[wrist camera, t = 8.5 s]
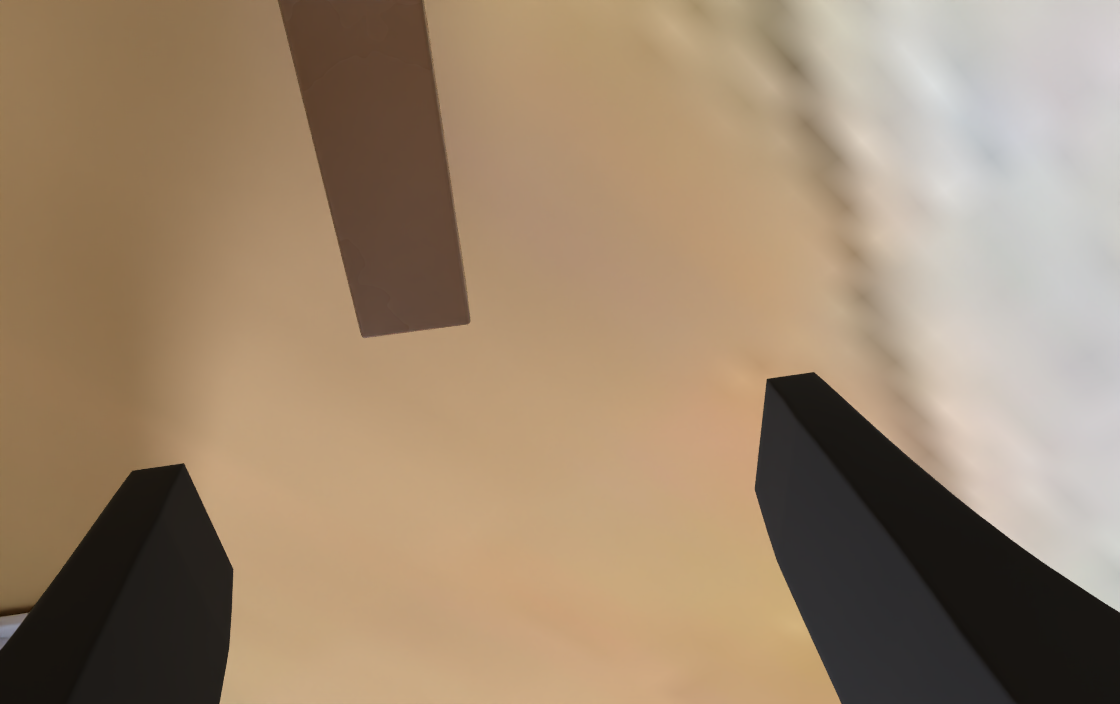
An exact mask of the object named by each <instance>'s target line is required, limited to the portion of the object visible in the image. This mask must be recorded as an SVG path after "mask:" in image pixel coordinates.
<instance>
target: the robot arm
mask: <svg viewBox="0 0 1120 704" xmlns="http://www.w3.org/2000/svg"><path fill="white" fill-rule="evenodd" d="M755 492H756V495H757V499H758V502H759V505H760V509H761V512H762V515H763V519H764V522H765V525H766V529H767V532H768V535H769V538H770V541H771V544H772V547H773V550H774V553H775V556H776V559H777V562H778V564H779V566H780V569H781V571H782V573H783V576H784V578H785V580H786V582H787V585H788V587H789V589H790V591H791V593H792V596H793V598H794V600H795V602H796V605H797V607H798V609H799V611H800V614H801V616H802V618H803V620H804V622H805V625H806V627H807V629H808V631H809V633H810V635H811V638H812V640H813V642H814V644H815V646H816V649H817V651H818V653H819V655H820V657H821V660H822V662H823V664H824V666H825V668H826V671H827V673H828V675H829V677H830V679H831V681H832V684H833V686H834V688H835V690H836V692H837V695H838V697H839V699H840V701H841V703H842V704H1120V612H1118V611H1116V610H1115V609H1113V608H1111V607H1110V606H1108V605H1107V604H1105V603H1103V602H1102V601H1100V600H1099V599H1097V598H1096V597H1094V596H1093V595H1091V594H1090V593H1088V592H1087V591H1085V590H1084V589H1082V588H1081V587H1079V586H1078V585H1076V584H1075V583H1073V582H1071V581H1070V580H1068V579H1067V578H1065V577H1064V576H1062V575H1061V574H1059V573H1058V572H1056V571H1055V570H1053V569H1052V568H1050V567H1049V566H1047V565H1046V564H1044V563H1043V562H1041V561H1040V560H1039V559H1037V558H1036V557H1034V556H1033V555H1032V554H1030V553H1029V552H1027V551H1026V550H1024V549H1023V548H1022V547H1020V546H1019V545H1018V544H1016V543H1015V542H1014V541H1012V540H1011V539H1010V538H1008V537H1007V536H1006V535H1004V534H1003V533H1002V532H1000V531H999V530H998V529H996V528H995V527H994V526H992V525H991V524H990V523H989V522H987V521H986V520H985V519H983V518H982V517H981V516H979V515H978V514H977V513H976V512H974V511H973V510H972V509H971V508H969V507H968V506H967V505H966V504H964V503H963V502H962V501H960V500H959V499H958V498H957V497H955V496H954V495H953V494H952V493H951V492H949V491H948V490H947V489H946V488H945V487H944V486H942V485H941V484H940V483H939V482H938V481H936V480H935V479H934V478H933V477H932V476H930V475H929V474H928V473H927V472H926V471H924V470H923V469H922V468H921V467H920V466H918V465H917V464H916V463H915V462H914V461H913V460H911V459H910V458H909V457H908V456H907V455H906V454H904V453H903V452H902V451H901V450H900V449H899V448H898V447H896V446H895V445H894V444H893V443H892V442H891V441H890V440H889V439H888V438H886V437H885V436H884V435H883V434H882V433H881V432H880V431H879V430H877V429H876V428H875V427H874V426H873V425H872V424H871V423H870V422H869V421H867V420H866V419H865V418H864V417H863V416H862V415H861V414H860V413H859V412H858V411H856V410H855V409H854V408H853V407H852V406H851V405H850V404H849V403H848V402H847V401H846V400H844V399H843V398H842V397H841V396H840V395H839V394H838V393H837V392H836V391H835V390H834V389H832V388H831V387H830V386H829V385H828V384H827V383H826V382H825V381H824V380H822V379H821V378H820V377H819V376H818V375H817V374H815V373H814V372H812V373H805V374H798V375H791V376H784V377H777V378H770V379H767V383H766V392H765V401H764V410H763V419H762V428H761V437H760V446H759V455H758V464H757V473H756V482H755ZM232 589H233V568H232V565H231V563H230V561H229V559H228V557H227V555H226V553H225V550H224V548H223V546H222V544H221V542H220V540H219V537H218V535H217V533H216V531H215V529H214V527H213V525H212V522H211V520H210V518H209V516H208V514H207V512H206V510H205V507H204V505H203V503H202V501H201V499H200V497H199V494H198V492H197V490H196V488H195V486H194V484H193V482H192V479H191V477H190V475H189V473H188V471H187V469H186V467H185V464H184V463H183V464H176V465H169V466H162V467H155V468H148V469H141V470H135V471H132V472H131V473H130V475H129V476H128V477H127V478H126V480H125V481H124V482H123V484H122V485H121V487H120V488H119V489H118V491H117V492H116V493H115V495H114V496H113V498H112V499H111V500H110V502H109V503H108V505H107V506H106V507H105V509H104V510H103V512H102V513H101V514H100V516H99V517H98V519H97V520H96V521H95V523H94V524H93V526H92V527H91V529H90V530H89V531H88V533H87V534H86V536H85V537H84V538H83V540H82V541H81V543H80V544H79V545H78V547H77V548H76V550H75V551H74V552H73V554H72V555H71V557H70V558H69V559H68V561H67V562H66V564H65V565H64V566H63V568H62V569H61V571H60V572H59V573H58V575H57V576H56V577H55V579H54V580H53V581H52V583H51V584H50V585H49V587H48V588H47V589H46V591H45V592H44V593H43V595H42V596H41V597H40V599H39V600H38V601H37V603H36V604H35V605H34V607H33V608H32V609H31V611H30V612H29V613H23V614H17V615H10V616H3V617H0V704H219V703H220V697H221V692H222V686H223V681H224V675H225V669H226V664H227V658H228V652H229V643H230V628H231V613H232Z"/></svg>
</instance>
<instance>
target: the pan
mask: <svg viewBox="0 0 1120 704" xmlns="http://www.w3.org/2000/svg"><path fill="white" fill-rule="evenodd" d="M278 2H279V7H280V11H281V15H282V19H283V23H284V27H285V31H286V35H287V39H288V43H289V47H290V51H291V55H292V59H293V63H294V67H295V71H296V75H297V79H298V83H299V87H300V91H301V95H302V99H303V103H304V107H305V111H306V115H307V119H308V123H309V127H310V131H311V135H312V139H313V143H314V147H315V151H316V155H317V159H318V163H319V167H320V171H321V175H322V179H323V183H324V187H325V191H326V195H327V200H328V204H329V208H330V212H331V216H332V220H333V224H334V228H335V232H336V236H337V240H338V244H339V248H340V252H341V256H342V260H343V264H344V268H345V272H346V276H347V280H348V284H349V288H350V292H351V296H352V300H353V304H354V308H355V312H356V316H357V320H358V324H359V328H360V332H361V335H362V337H363V338H367V337H375V336H383V335H390V334H398V333H405V332H413V331H420V330H428V329H435V328H443V327H451V326H458V325H466V324H469V323H470V313H469V304H468V295H467V287H466V280H465V273H464V266H463V260H462V253H461V246H460V240H459V233H458V226H457V219H456V213H455V206H454V199H453V192H452V186H451V179H450V172H449V166H448V159H447V152H446V145H445V139H444V132H443V125H442V118H441V112H440V105H439V98H438V91H437V85H436V78H435V71H434V65H433V58H432V51H431V44H430V38H429V31H428V24H427V17H426V11H425V4H424V0H278Z"/></svg>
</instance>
